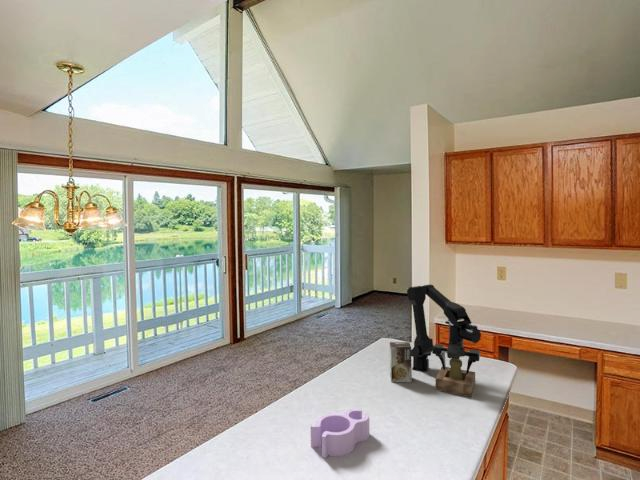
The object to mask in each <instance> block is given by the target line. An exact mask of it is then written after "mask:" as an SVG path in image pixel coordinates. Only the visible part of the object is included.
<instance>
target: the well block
mask: <svg viewBox="0 0 640 480" xmlns="http://www.w3.org/2000/svg"><path fill="white" fill-rule="evenodd" d="M450 368H451V367H450V366H449V367H448V366H446V367H445V370H444V369H443V366H442V365H441V368H439V371H438V373H437V374H436V377H435V386H434V387H435V389H434V390H435V391H441V392H445V393H449V394H454V395H459V396H462V397H469V398H472V395H473V392H474V389H475V386H476V372H475V371H472V370H469V372H468V374H467V369H461V373H462V380H458V379H453V378H449V375H450Z"/></svg>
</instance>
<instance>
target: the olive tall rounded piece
mask: <svg viewBox="0 0 640 480" xmlns="http://www.w3.org/2000/svg"><path fill="white" fill-rule="evenodd" d="M448 362H449V368H450V375H449V378H453V379H458V380H462V373H461V370H462V367H463V361H462V360H461V359H460V358H459V359H453V358H449V361H448Z"/></svg>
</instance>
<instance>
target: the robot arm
mask: <svg viewBox="0 0 640 480" xmlns="http://www.w3.org/2000/svg"><path fill="white" fill-rule="evenodd" d="M406 294H407V297H408V299H407V300H408V301H409V302H410V304H411V306H412V311H413V318H414V327H415V334H416V335H415V338H414V341H413V348H411V358H412V357H413V358H412V361H413V362H412V365H413V366H412V367H411V370H413V371H419V372H420V371H421V372H424V373H425V372H427V371H428V369H429V368H430V358H429V356H432V354H433V355H435V356H436V357H438V358H439V361H440V363H441V367H442V366H443V369H444V370H445V367H447V366H446V355H447V358H448V359H452V358H453V359H460V358H462V357H468V358H467V366H466V371H467V374H468V372H469V371H470V369H471V367H472V365H473V363H476V362H479V361H480V358H481V351H480V350H479V349H478V350H477V349H471V348H470V350H469V351H467V350H466V348H465V347H464V341H467V342H470V343H472V344H477V343H478V342H480V340H481V339H482V334H481V331H480V329H479V328H478V325H474V324H472V321H471V319H470V317H469V315H468V313H467V310H466V308H465V307H464V306H462V305H460V304H459V303H456V302H454V301H451V300H450V299H448V297H446V296H445V295H444V294H443V293H441V292H440V291H439V290H438V289H437V288H436V287H435V285H434V284H431V283H430V284H424V285H416V286H410V287H408V289H407V291H406ZM426 296H427V297H428V298H430V299H431V300H432V301H433V302H434V303H435V304H437V306H439V308H441V310H443V314H444V315H445V317H446V318H447V320H446V321H445V322H444V323H445V324H447V325H449V326H448V345H447V347H445V345H444V344H438V343H435V344H434V343H433V338H430V337H429V335H428V331H427V323H426V316H425V315H426V313H425V309H424V308H425V307H424V304H425V300H426Z"/></svg>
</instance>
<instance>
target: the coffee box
mask: <svg viewBox="0 0 640 480" xmlns="http://www.w3.org/2000/svg"><path fill="white" fill-rule="evenodd" d="M411 350H412V346H411V343H410V342H409V341H408V342H407V341H405V342H404V341H401V342H398V341H396V342H395V341H394V342H393V341H390V342H389V377H390V382H391V383H412V374H413V373H412V371H413V369H412V356H411Z"/></svg>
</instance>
